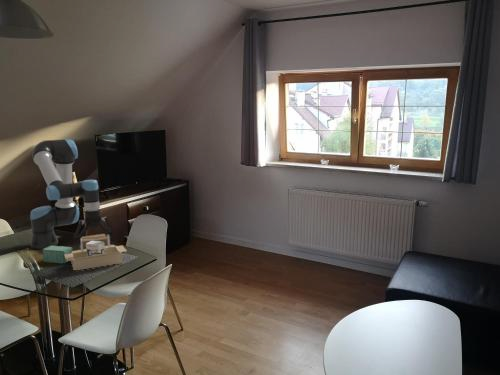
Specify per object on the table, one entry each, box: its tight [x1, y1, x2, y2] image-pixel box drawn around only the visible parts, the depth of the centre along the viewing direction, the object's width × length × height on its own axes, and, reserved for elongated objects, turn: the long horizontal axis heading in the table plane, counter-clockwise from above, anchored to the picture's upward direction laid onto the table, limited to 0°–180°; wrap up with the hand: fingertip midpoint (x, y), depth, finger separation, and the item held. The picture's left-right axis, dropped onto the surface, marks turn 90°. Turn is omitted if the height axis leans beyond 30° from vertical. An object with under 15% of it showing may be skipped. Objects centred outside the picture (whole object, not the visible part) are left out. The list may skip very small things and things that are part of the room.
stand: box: [78, 233, 108, 250], centre depth 234 cm, size 10×14×10 cm
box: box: [42, 245, 74, 264], centre depth 225 cm, size 7×14×8 cm, turn 78°
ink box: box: [86, 241, 105, 257], centre depth 220 cm, size 8×5×12 cm, turn 72°
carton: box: [64, 244, 128, 270], centre depth 221 cm, size 19×30×8 cm, turn 118°
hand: (95, 248), depth 220 cm, fingers open, 13 cm apart
